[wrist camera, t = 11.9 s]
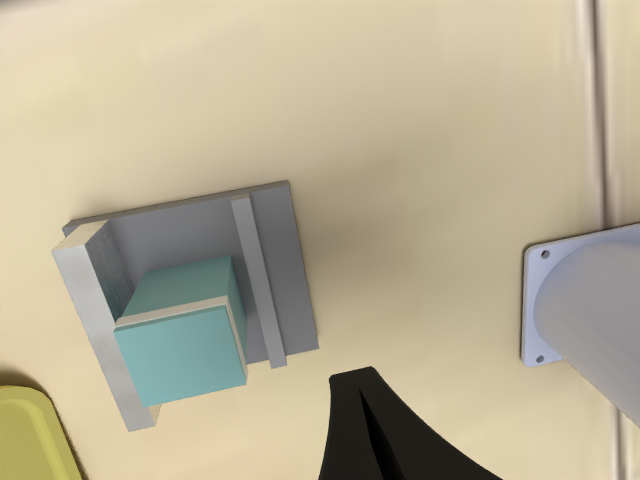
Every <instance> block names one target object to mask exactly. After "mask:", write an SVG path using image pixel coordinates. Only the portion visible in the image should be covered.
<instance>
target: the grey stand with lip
mask: <svg viewBox="0 0 640 480" xmlns="http://www.w3.org/2000/svg"><path fill="white" fill-rule="evenodd" d="M108 219H109V222H110V224H111V227H112V230H113V233H114V235H115V238H116V241H117V244H118V246H119V249H120V252H121V255H122V257H123V260H124V263H125V266H126V268H127V271H128V274H129V277H130V280H131V282H132V285H133V288H134V291H135V290H136V288H137V287H138V285H139V283H140V281H141V279H142V277H143V275H144V274H145V272H149V271H154V270H159V269H164V268H169V267H174V266H179V265H184V264H189V263H193V262H198V261H203V260H208V259H213V258H218V257H223V256H228V255H231V257H232V260H233V264H234V268H235V272H236V276H237V280H238V284H239V287H240V291H241V295H242V299H243V303H244V307H245V311H246V315H247V364H251V363H256V362H260V361H265V360H270V365H271V369H273V368H277V367H282V366H286V365H287V361H286V356H287V355H292V354H297V353H301V352H306V351H310V350H315V349H319V345H318V339H317V334H316V329H315V323H314V318H313V313H312V307H311V302H310V297H309V291H308V286H307V280H306V275H305V270H304V264H303V259H302V254H301V248H300V243H299V238H298V232H297V227H296V221H295V216H294V211H293V205H292V200H291V195H290V189H289V185H288V182H287V181H281V182H276V183H271V184H265V185H260V186H255V187H249V188H244V189H239V190H233V191H228V192H223V193H217V194H212V195H207V196H201V197H196V198H191V199H185V200H180V201H175V202H169V203H164V204H159V205H153V206H148V207H143V208H137V209H132V210H127V211H121V212H116V213H111V214H105V215H100V216H95V217H89V218H84V219H79V220H73V221H70V222H69V223H68V224H66V225H65V226H64V227H63V228H62V230H63V232H64V235H65V237H67V236H68V235H70V234H71V233H72V232H73V231H74V230H75V229H76V228H78V227H79V226H80V225H82V224H87V223H92V222H98V221H103V220H108Z"/></svg>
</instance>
